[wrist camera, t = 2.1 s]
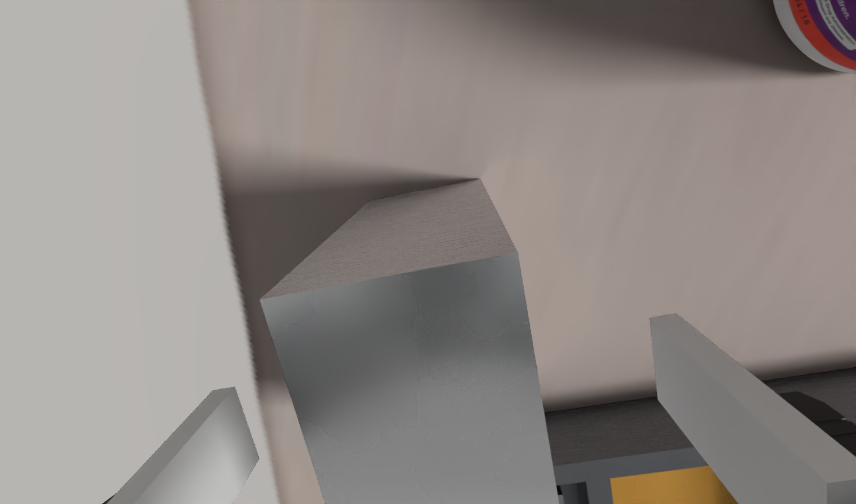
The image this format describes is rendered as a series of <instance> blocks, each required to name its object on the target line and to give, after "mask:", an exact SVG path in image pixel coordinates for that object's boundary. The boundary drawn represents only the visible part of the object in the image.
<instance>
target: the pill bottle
mask: <svg viewBox="0 0 856 504" xmlns="http://www.w3.org/2000/svg"><path fill="white" fill-rule="evenodd" d="M773 2H774V6H775V11H776V14H777V16H778V19H779V21H780V23H781V25H782V27H783V29H784V31H785V32H786V34H787V35H788V37H789V38H790V39H791V41H792V42H793V43H794V44H795V45H796V46H797V47H798V48H799V49H800V50H801V51H802V52H803V53H804V54H805V55H806V56H808V57H809V58H810V59H812V60H813V61H815V62H817V63H819V64H821V65H823V66H825V67H828V68H830V69H833V70H837V71H841V72H845V73H853V74H856V0H773Z"/></svg>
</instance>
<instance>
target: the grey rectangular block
mask: <svg viewBox="0 0 856 504" xmlns="http://www.w3.org/2000/svg"><path fill="white" fill-rule="evenodd" d="M260 303H261V306H262V309H263V312H264V315H265V318H266V321H267V325H268V328H269V331H270V334H271V337H272V340H273V343H274V346H275V349H276V352H277V356H278V359H279V362H280V365H281V368H282V371H283V374H284V377H285V380H286V383H287V387H288V390H289V393H290V396H291V399H292V402H293V405H294V408H295V411H296V414H297V418H298V421H299V424H300V427H301V430H302V433H303V436H304V439H305V442H306V445H307V449H308V452H309V455H310V458H311V461H312V464H313V467H314V470H315V473H316V476H317V480H318V483H319V486H320V489H321V492H322V495H323V498H324V501H325V504H559V500H558V494H557V488H556V482H555V476H554V470H553V463H552V457H551V451H550V445H549V439H548V433H547V427H546V421H545V415H544V409H543V403H542V397H541V391H540V384H539V378H538V372H537V366H536V360H535V354H534V348H533V342H532V336H531V330H530V324H529V318H528V312H527V305H526V299H525V293H524V287H523V281H522V275H521V269H520V263H519V257H518V252H517V250H516V248H515V246H514V244H513V242H512V240H511V238H510V236H509V234H508V232H507V230H506V228H505V226H504V224H503V222H502V220H501V218H500V216H499V214H498V212H497V210H496V208H495V206H494V204H493V202H492V200H491V199H490V197H489V195H488V193H487V191H486V189H485V187H484V185H483V183H482V181H481V179H476V180H471V181H466V182H461V183H456V184H451V185H446V186H441V187H436V188H431V189H426V190H421V191H416V192H411V193H406V194H402V195H397V196H392V197H387V198H382V199H377V200H372V201H369V202H368V203H367V204H365V205H364V206H363V207H362V208H361V209H360V210H359V211H358V212H356V213H355V214H354V215H353V216H352V217H351V218H350V219H349V220H348V221H346V222H345V223H344V224H343V225H342V226H341V227H340V228H339V229H338V230H336V231H335V232H334V233H333V234H332V235H331V236H330V237H329V238H328V239H326V240H325V241H324V242H323V243H322V244H321V245H320V246H319V247H318V248H316V249H315V250H314V251H313V252H312V253H311V254H310V255H309V256H308V257H306V258H305V259H304V260H303V261H302V262H301V263H300V264H299V265H298V266H296V267H295V268H294V269H293V270H292V271H291V272H290V273H289V274H288V275H286V276H285V277H284V278H283V279H282V280H281V281H280V282H279V283H278V284H276V285H275V286H274V287H273V288H272V289H271V290H270V291H269V292H268V293H266V294H265V295H264V296H263V297H262V298H261V299H260Z"/></svg>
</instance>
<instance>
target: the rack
mask: <svg viewBox="0 0 856 504" xmlns="http://www.w3.org/2000/svg"><path fill="white" fill-rule="evenodd" d="M761 382H763V383H764V384H765V385H766V386H768V387H769V388H770V389H771V390H773V391H774V392H775V393H776V394H780V393H787V392H793V391H798V392H801V393H803V394H805V395H808V396H810V397H813V398H815V399H817V400H820V401H822V402H825V403H826V404H828V405H829V406H830V407H832V408H833V409H834V410H836V411H837V412H839V413H840V414H841V415H843V416H844V417H846V419H847V421H851V422H852V423H854V424H855V425H856V368H850V369H843V370H836V371H830V372H823V373H816V374H809V375H802V376H795V377H789V378H782V379H775V380H768V381H761ZM544 415H545V421H546V427H547V433H548V439H549V445H550V451H551V457H552V463H553V470H554V476H555V482H556V488H557V494H558V500H559V504H738V503H737V501H736V500H735V499H734V497H733V496H732V495H731V493H730V492H729V491H728V490H727V488H726V487H725V486H724V484H723V483H722V482H721V481H720V479H719V478H718V477H717V475H716V474H715V473H714V471H713V470H712V469H711V468H710V466H709V465H708V464H707V462H706V461H705V460H704V459H703V457H702V456H701V455H700V453H699V452H698V451H697V450H696V448H695V447H694V446H693V444H692V443H691V442H690V440H689V439H688V438H687V437H686V435H685V434H684V433H683V431H682V430H681V429H680V428H679V426H678V425H677V424H676V422H675V421H674V420H673V418H672V417H671V416H670V415H669V413H668V412H667V411H666V409H665V408H664V407H663V406H662V404H661V403H660V402H659V400H658V397H652V398H645V399H638V400H631V401H624V402H617V403H611V404H604V405H597V406H590V407H583V408H576V409H570V410H563V411H556V412H549V413H544Z"/></svg>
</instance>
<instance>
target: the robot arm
mask: <svg viewBox="0 0 856 504" xmlns="http://www.w3.org/2000/svg"><path fill="white" fill-rule="evenodd" d="M650 326H651V336H652V346H653V357H654V367H655V377H656V387H657V397H658V400H659V402H660V403H661V404H662V406H663V407H664V408H665V409H666V411H667V412H668V413H669V415H670V416H671V417H672V418H673V420H674V421H675V422H676V424H677V425H678V426H679V428H680V429H681V430H682V431H683V433H684V434H685V435H686V437H687V438H688V439H689V440H690V442H691V443H692V444H693V446H694V447H695V448H696V450H697V451H698V452H699V453H700V455H701V456H702V457H703V459H704V460H705V461H706V462H707V464H708V465H709V466H710V468H711V469H712V470H713V471H714V473H715V474H716V475H717V477H718V478H719V479H720V481H721V482H722V483H723V484H724V486H725V487H726V488H727V490H728V491H729V492H730V493H731V495H732V496H733V497H734V499H735V500H736V501H737V503H738V504H856V425H855V424H854V423H852V422H851V421H847V419H846V417H844V416H843V415H841V414H840V413H839V412H837V411H836V410H834V409H833V408H832V407H830V406H829V405H828V404H826V403H825V402H822V401H820V400H817V399H815V398H813V397H810V396H808V395H805V394H803V393H801V392H798V391H793V392H787V393H780V394H776V393H775V392H774V391H773V390H771V389H770V388H769V387H768V386H766V385H765V384H764V383H763V382H761V381H760V380H759V379H758V378H756V377H755V376H754V375H753V374H751V373H750V372H749V371H748V370H746V369H745V368H744V367H743V366H741V365H740V364H739V363H738V362H736V361H735V360H734V359H733V358H731V357H730V356H729V355H728V354H726V353H725V352H724V351H723V350H721V349H720V348H719V347H718V346H716V345H715V344H714V343H713V342H712V341H710V340H709V339H708V338H707V337H705V336H704V335H703V334H702V333H700V332H699V331H698V330H697V329H695V328H694V327H693V326H692V325H690V324H689V323H688V322H687V321H685V320H684V319H683V318H682V317H680V316H679V315H678V314H677V313H676V314H670V315H664V316H658V317H652V318H650ZM258 460H259V456H258V453H257V450H256V447H255V444H254V442H253V439H252V436H251V433H250V430H249V427H248V424H247V421H246V418H245V415H244V413H243V409H242V406H241V404H240V401H239V398H238V395H237V392H236V389H235V387H231V388H225V389H218V390H213V391H212V392H211V393H210V394H209V395H208V396H207V397H206V398H205V399H204V400H203V401H202V403H201V404H200V405H199V406H198V407H197V408H196V409H195V410H194V411H193V412H192V413H191V414H190V415H189V416H188V418H187V419H186V420H185V421H184V422H183V423H182V424H181V425H180V426H179V427H178V428H177V429H176V430H175V431H174V432H173V433H172V435H171V436H170V437H169V438H168V439H167V440H166V441H165V442H164V443H163V444H162V445H161V446H160V448H158V450H157V451H156V452H155V453H154V454H153V455H152V456H151V457H150V458H149V459H148V460H147V461H146V462H145V463H144V464H143V466H142V467H141V468H140V469H139V470H138V471H137V472H136V473H135V474H134V476H132V477H131V478H130V479H129V480H128V482H127V483H126V484H125V485H124V486H123V487H122V488H121V489H120V490H119V491H118V492H117V493H116V494H115V495H113V496H112V497H111V498H109V499H108V500H107V501H105V502H104V503H103V504H233V502H234V500H235V499H236V497H237V495H238V494H239V492H240V490H241V489H242V487H243V485H244V484H245V482H246V480H247V479H248V477H249V475H250V474H251V472H252V470H253V468H254V467H255V465H256V463H257V462H258Z"/></svg>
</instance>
